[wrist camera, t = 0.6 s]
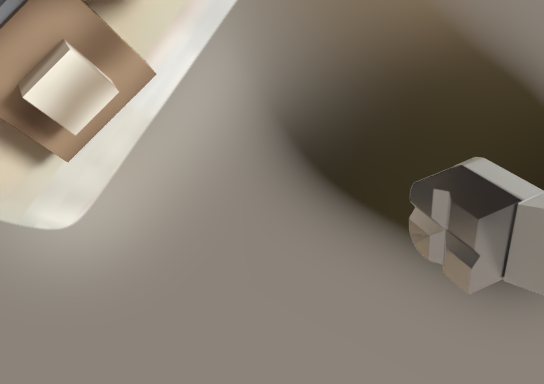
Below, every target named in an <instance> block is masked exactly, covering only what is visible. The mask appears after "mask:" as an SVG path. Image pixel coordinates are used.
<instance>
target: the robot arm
mask: <svg viewBox="0 0 544 384" xmlns="http://www.w3.org/2000/svg"><path fill="white" fill-rule="evenodd" d="M410 201H411V202H412V203H413V205H414V206H415V209H414V211H413V213H412V215H411V216H410V218H409V233H410V235H411V238H412V241H413V244H414V245H415V247H416V248H417V249H418V251H419V252H420V253H421V254H422V255H423V256H424V257H425V258H426V259H427V260H429V261H432V262H436V263H439V264H443V270H444V274H445V275H446V276H447V277H448V278H449V279H451V280H452V281H453V282H454V283H455V284H456V285H458V286H459V287H460V288H461V289H462V290H463V291H465V292H466V293H467V294H471V293H473V292H475V291H478V290H480V289H482V288H484V287H486V286H488V285H491V284H493V283H495V282H497V281H499V280H502V279H504V281H505V282H508V283H511V284H514V285H516V286H519V287H522V288H525V289H528V290H530V291H533V292H536V293H538V294H541V295H544V191H543V190H541V189H539V188H538V187H536V186H534V185H532V184H530V183H529V182H527V181H525V180H523V179H521V178H519V177H517V176H515V175H514V174H512V173H510V172H508V171H507V170H505V169H503V168H501V167H499V166H498V165H496V164H494V163H492V162H490V161H488V160H486V159H485V158H480V157H474V158H472V159H470V160H467V161H465V162H463V163H460V164H458V165H456V166H454V167H452V168H449V169H447V170H445V171H442V172H439V173H437V174H434V175H432V176H430V177H427V178H424V179H422V180H420V181H417V182H415V183H414V184H413V186H412V188H411V191H410Z"/></svg>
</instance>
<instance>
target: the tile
mask: <svg viewBox="0 0 544 384" xmlns="http://www.w3.org/2000/svg"><path fill="white" fill-rule="evenodd" d="M18 86H19V89H20V91H21V94H22V97H23V98H24V99H25V100H27V101H28V102H30V103H31V104H32V105H34V106H35V107H37V108H38V109H39V110H41V111H42V112H43V113H45V114H46V115H48V116H49V117H50V118H52V119H53V120H55V121H56V122H57V123H59V124H60V125H62V126H63V127H64V128H66V129H67V130H69V131H70V132H71V133H73V134H74V135H77V134H78V133H79V132H80V131H81V130H82V129H83V128H84V127H85V126H86V125H87V124H88V123H89V122H90V121H91V120H92V119H93V118H94V117H95V116H96V115H97V114H98V113H99V112H100V111H101V110H102V109H103V108H104V107H105V106H106V105H107V104H108V103H109V102H110V101H111V100H112V99H113V98H114V97H115V96H116V95H117V94H118V93H119V91H118V89H117V88H116V86H115V85H114V83H113V82H112V81H111V80H110V79H109V78H108V77H107V76H106V75H105V74H104V73H102V72H101V71H100V70H99V69H98V68H97V67H96V66H94V65H93V64H92V63H91V62H90V61H89V60H88V59H86V58H85V57H84V56H83V55H82V54H81V53H80V52H78V51H77V50H76V49H75V48H74V47H73V46H72V45H70V44H69V43H68V42H67V41H66V40H65V39H63V40H62V41H61V42H60V43H59V44H58V45H57V46H56V47H55V48H54V49H53V50H52V51H51V52H50V53H49V54H48V55H47V56H46V57H45V58H44V59H43V60H42V61H41V62H40V63H39V64H38V65H37V66H36V67H35V68H34V69H33V70H32V71H31V72H30V73H29V74H28V75H27V76H26V77H25V78H24V79H23V80H22V81H21V82H20V83H19V84H18Z"/></svg>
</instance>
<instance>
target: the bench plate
mask: <svg viewBox="0 0 544 384" xmlns="http://www.w3.org/2000/svg"><path fill="white" fill-rule="evenodd" d="M63 39H65V40H66V41H67V42H68V43H69V44H70V45H72V46H73V47H74V48H75V49H76V50H77V51H78V52H80V53H81V54H82V55H83V56H84V57H85V58H86V59H88V60H89V61H90V62H91V63H92V64H93V65H94V66H96V67H97V68H98V69H99V70H100V71H101V72H102V73H104V74H105V75H106V76H107V77H108V78H109V79H110V80H111V81H112V82H113V83H114V85H115V86H116V88H117V89H118V91H119V93H118V94H117V95H116V96H115V97H114V98H113V99H112V100H111V101H110V102H109V103H108V104H107V105H106V106H105V107H104V108H103V109H102V110H101V111H100V112H99V113H98V114H97V115H96V116H95V117H94V118H93V119H92V120H91V121H90V122H89V123H88V124H87V125H86V126H85V127H84V128H83V129H82V130H81V131H80V132H79V133H78V134H77V135H74V134H73V133H71V132H70V131H69V130H67V129H66V128H64V127H63V126H62V125H60V124H59V123H57V122H56V121H55V120H53V119H52V118H50V117H49V116H48V115H46V114H45V113H43V112H42V111H41V110H39V109H38V108H37V107H35V106H34V105H32V104H31V103H30V102H28V101H27V100H25V99H24V98H23V97H22V94H21V91H20V89H19V86H18V84H19V83H20V82H21V81H22V80H23V79H24V78H25V77H26V76H27V75H28V74H29V73H30V72H31V71H32V70H33V69H34V68H35V67H36V66H37V65H38V64H39V63H40V62H41V61H42V60H43V59H44V58H45V57H46V56H47V55H48V54H49V53H50V52H51V51H52V50H53V49H54V48H55V47H56V46H57V45H58V44H59V43H60V42H61V41H62V40H63ZM155 75H156V73H155V72H154V71H153V70H152V68H151V67H150V66H149V65H148V64H147V63H146V61H144V60H143V59H142V58H141V57H140V56H139V55H138V54H137V53H136V52H135V51H134V50H133V49H132V48H131V47H130V46H129V45H128V44H127V43H126V42H125V41H124V40H123V39H122V38H121V37H120V36H119V35H118V34H117V33H116V32H115V31H114V30H113V29H112V28H111V27H110V26H108V25H107V24H106V23H105V22H104V21H103V20H102V19H101V18H100V17H99V16H98V15H97V14H96V13H95V12H94V11H93V10H92V9H91V8H90V7H89V6H88V5H87V4H86V3H85V2H84V1H83V0H24V1H23V2H22V3H21V4H20V5H19V6H18V7H17V8H16V9H15V10H14V11H13V12H12V13H11V14H10V15H9V16H8V17H7V18H6V19H5V20H4V21H3V23H2V24H1V25H0V118H1V119H3V120H4V121H6V122H7V123H9V124H10V125H12V126H13V127H15V128H16V129H18V130H19V131H21V132H23V133H24V134H26V135H27V136H29V137H30V138H32V139H33V140H35V141H36V142H38V143H39V144H41V145H42V146H44V147H45V148H47V149H48V150H50V151H51V152H53V153H54V154H56V155H57V156H59V157H60V158H62V159H63V160H65V161H66V162H69V161H70V160H71V159H72V158H73V157H74V156H75V155H76V154H77V153H78V152H79V151H80V150H81V149H82V148H83V147H84V146H85V145H86V144H87V143H88V142H89V141H90V140H91V139H92V138H93V137H94V136H95V135H96V134H97V133H98V132H99V131H100V130H101V129H102V128H103V127H104V126H105V125H106V124H107V123H108V122H109V121H110V120H111V119H112V118H113V117H114V116H115V115H116V114H117V113H118V112H119V111H120V110H121V109H122V108H123V107H124V106H125V105H126V104H127V103H128V102H129V101H130V100H131V99H132V98H133V97H134V96H135V95H136V94H137V93H138V92H139V91H140V90H141V89H142V88H143V87H144V86H145V85H146V84H147V83H148V82H149V81H150V80H151V79H152V78H153V77H154V76H155Z"/></svg>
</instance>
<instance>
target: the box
mask: <svg viewBox="0 0 544 384" xmlns="http://www.w3.org/2000/svg"><path fill="white" fill-rule="evenodd" d="M23 1H24V0H0V25H1V24H2V23H3V21H4V20H5V19H6V18H7V17H8V16H9V15H10V14H11V13H12V12H13V11H14V10H15V9H16V8H17V7H18V6H19V5H20V4H21V3H22V2H23Z"/></svg>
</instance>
